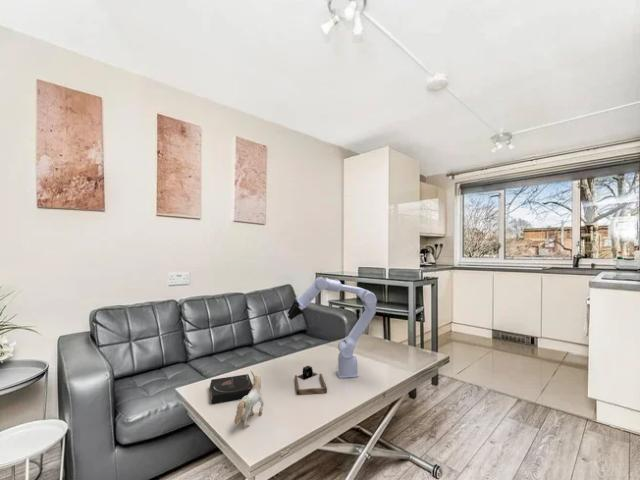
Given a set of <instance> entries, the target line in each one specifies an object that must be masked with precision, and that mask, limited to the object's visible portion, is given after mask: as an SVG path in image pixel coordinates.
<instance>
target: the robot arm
mask: <svg viewBox="0 0 640 480" xmlns="http://www.w3.org/2000/svg"><path fill="white" fill-rule="evenodd" d="M323 290H325V291H329V292H333V293H338V292H339V293H340V291H341V292H347V293H350V294H355V295H356V296H358V297H359V299H360V302H362V304H363V308H364V310H363V312H362V314H361V315H360V316H359V318H358V320H357V321H356V323H355V324H354V325H353V327H352V329H351V330H350V332H349V333H348V335H347V336H345V337H344V338H343V340H340V341H339V343H338V344H337V345H338V346H337V349H338V352H339V353H338V357H337V364H338V365H337V366H338V367H337V368H338V370H336V371H335V372H336V374H337V376H338V378H340V379H344V378H345V379H346V378H358V377H359V373H358V369H359V368H358V366H359V364H358V358H357V356H356V355H354V350H355V348H356V344H357V342H358V340H359V339H360V337H361V336H362V334H363V333H364V332H365V331H366V330H365V329H366V328H367V327H368V325H369V324H370V322H371V321H372V319H373V318H374V316H375V315H376V313H377V302H378V299H377V296H376V295H375V293H374V292H372V291H370V290H368V289H365V288H362V287H360V286H354V285H348V284H342V282H341V281H340V280H338V279H336V278H335V279H331V278H328V277H325V278H324V277H323V276H320V277H317V278H315V279H314V281H313V283H311V285H309V286H308V288H307V289H306V290H305V291H304V292H303V293H302V294H301V295H300V296H298V297H295V299H294V300H293V302H292V305H291V306H290V309H288V311H287V314H288V316H287V318H288V319H289V320H293V319H295V318H296V317H297V316H299V315H302V314H304V311H303V309H306V308H307V307H308V306H309V304H311V302H312V301H313V300H314V299H315V298H316V297H317V296H318V295H319V293H320V292H321V291H323Z"/></svg>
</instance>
